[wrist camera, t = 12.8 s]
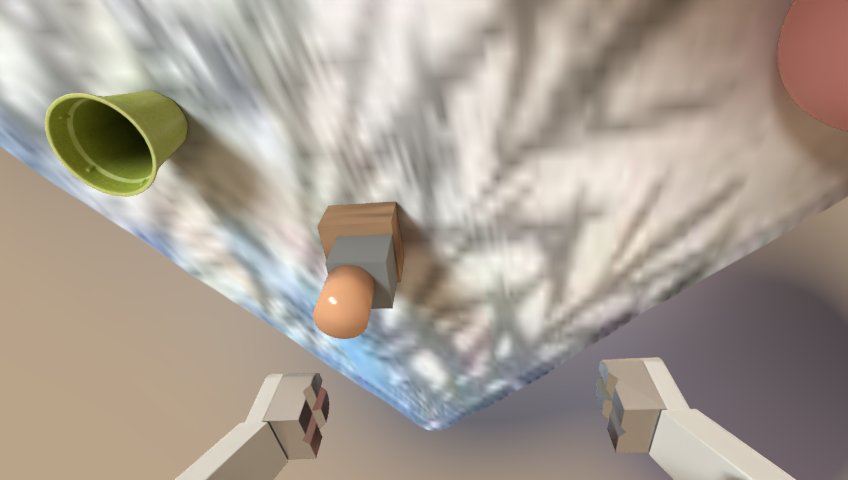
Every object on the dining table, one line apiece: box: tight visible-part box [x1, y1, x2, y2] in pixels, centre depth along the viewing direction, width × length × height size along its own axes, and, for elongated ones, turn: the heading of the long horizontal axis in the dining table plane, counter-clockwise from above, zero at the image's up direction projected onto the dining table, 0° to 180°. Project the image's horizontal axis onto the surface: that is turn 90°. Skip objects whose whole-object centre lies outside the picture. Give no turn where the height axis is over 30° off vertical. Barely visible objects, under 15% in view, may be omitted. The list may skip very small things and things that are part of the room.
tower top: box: [326, 235, 397, 309], centre depth 44 cm, size 6×6×5 cm
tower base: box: [317, 202, 404, 282], centre depth 48 cm, size 8×8×5 cm
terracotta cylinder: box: [313, 265, 375, 339], centre depth 40 cm, size 5×5×5 cm
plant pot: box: [45, 91, 188, 196], centre depth 40 cm, size 9×9×9 cm
